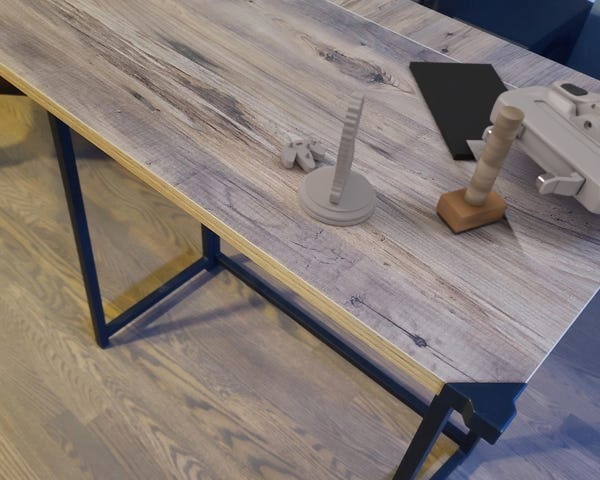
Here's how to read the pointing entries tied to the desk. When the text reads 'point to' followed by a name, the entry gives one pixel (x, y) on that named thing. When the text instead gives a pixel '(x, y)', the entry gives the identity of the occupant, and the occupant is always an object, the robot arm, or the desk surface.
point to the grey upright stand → (340, 181)
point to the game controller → (302, 153)
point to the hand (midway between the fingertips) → (512, 160)
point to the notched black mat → (459, 100)
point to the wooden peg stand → (482, 180)
